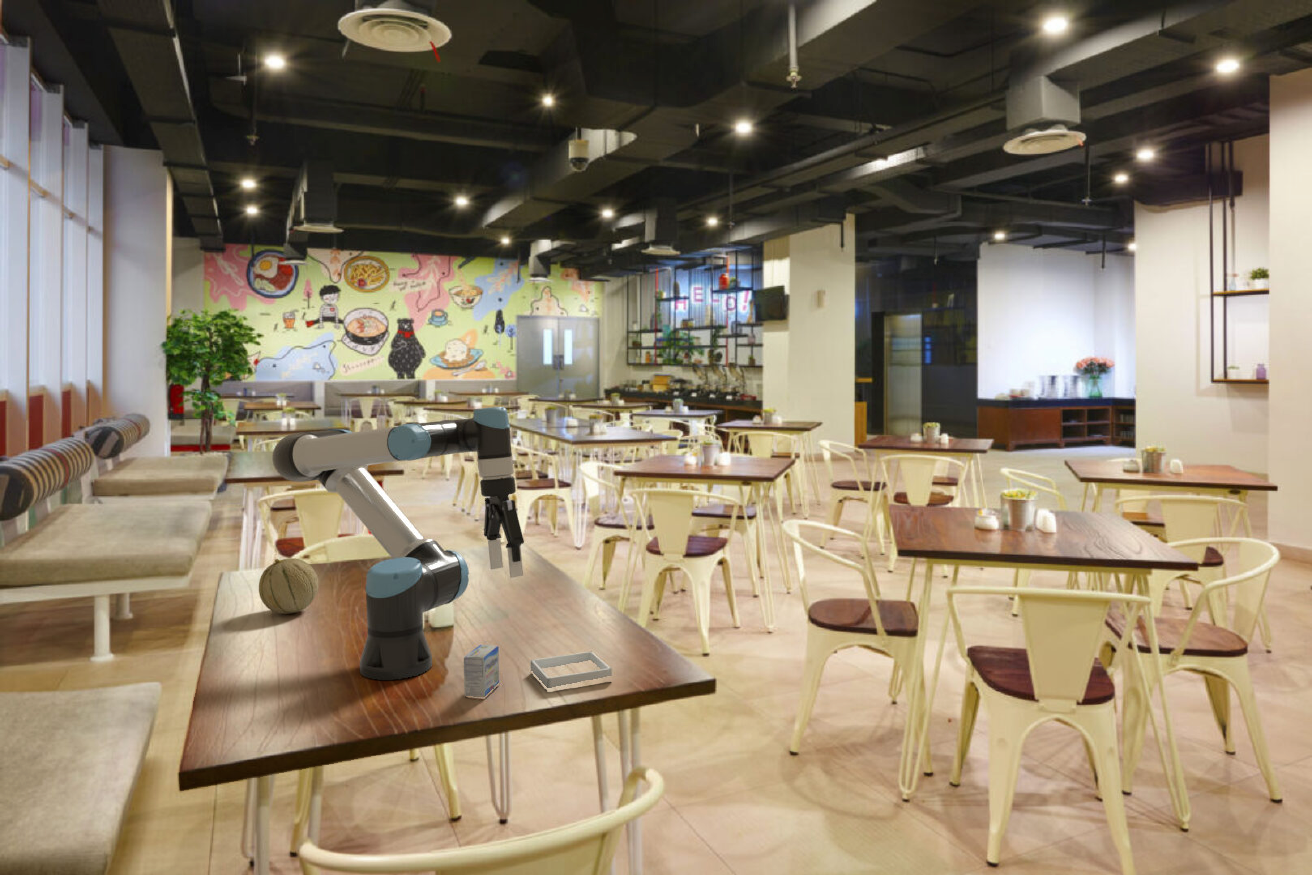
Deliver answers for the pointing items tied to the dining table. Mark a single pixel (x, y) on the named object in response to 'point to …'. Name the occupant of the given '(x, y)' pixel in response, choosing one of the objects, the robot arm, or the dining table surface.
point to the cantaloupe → (288, 586)
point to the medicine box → (481, 670)
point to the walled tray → (570, 678)
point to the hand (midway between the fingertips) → (506, 572)
